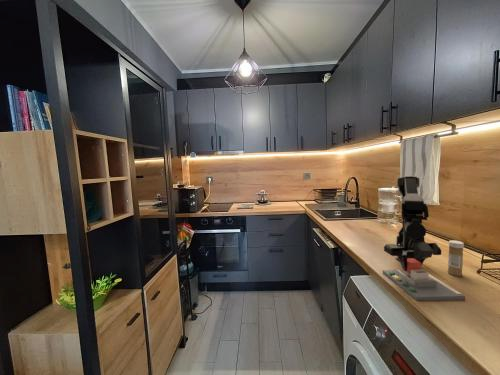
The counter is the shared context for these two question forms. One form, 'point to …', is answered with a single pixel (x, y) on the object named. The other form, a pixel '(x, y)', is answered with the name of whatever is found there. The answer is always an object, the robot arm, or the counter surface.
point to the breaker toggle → (419, 274)
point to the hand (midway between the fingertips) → (411, 270)
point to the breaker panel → (423, 287)
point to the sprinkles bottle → (455, 258)
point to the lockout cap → (412, 265)
